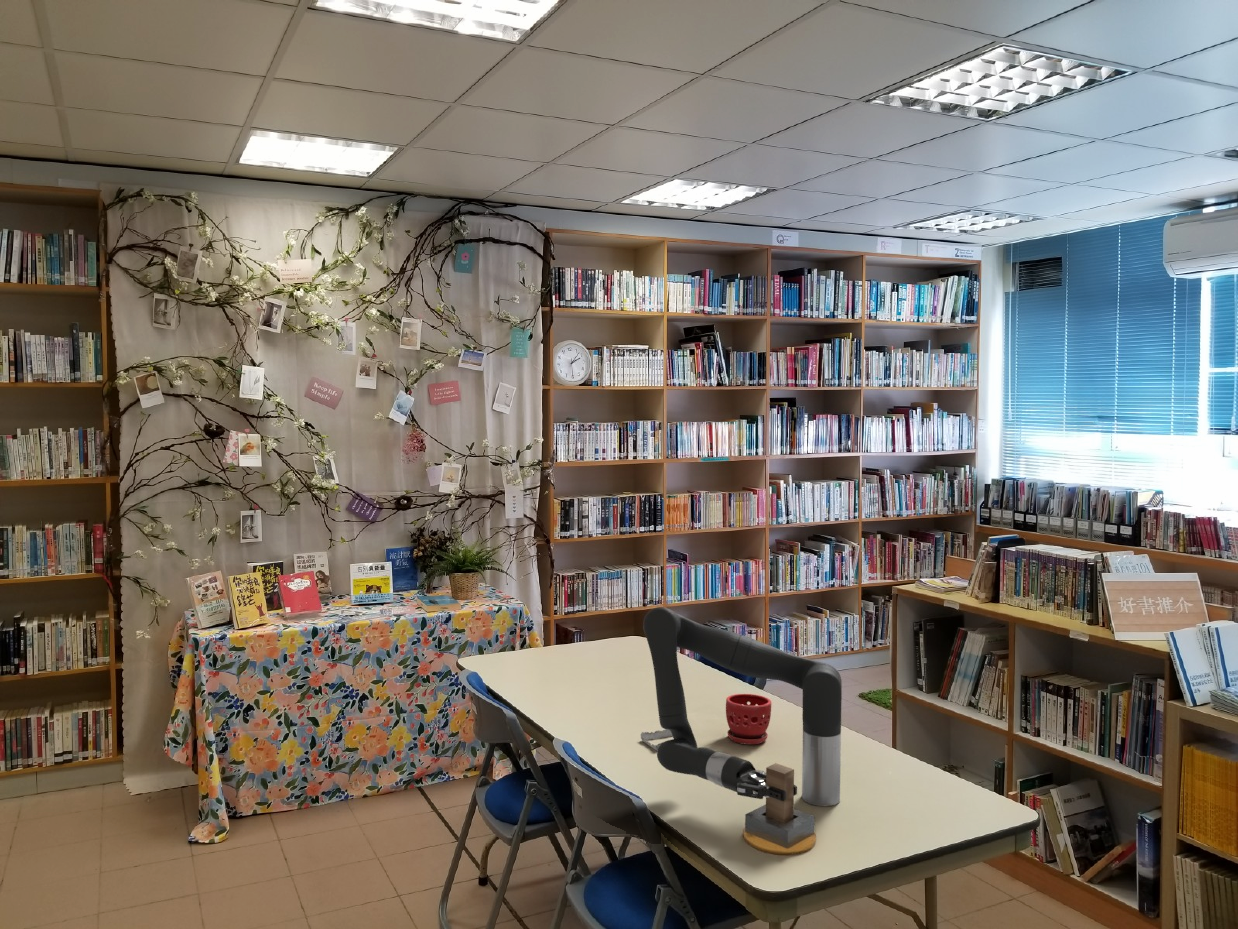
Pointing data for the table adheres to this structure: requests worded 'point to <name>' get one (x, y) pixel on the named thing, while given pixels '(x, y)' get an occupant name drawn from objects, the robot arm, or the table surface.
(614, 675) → the table surface
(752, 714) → the plant pot
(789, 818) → the brown wooden block
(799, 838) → the grey socket block
